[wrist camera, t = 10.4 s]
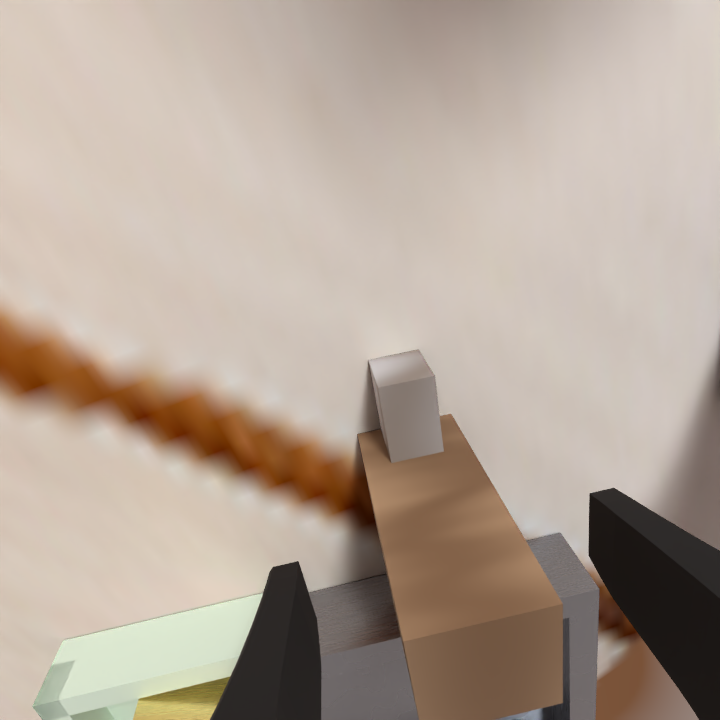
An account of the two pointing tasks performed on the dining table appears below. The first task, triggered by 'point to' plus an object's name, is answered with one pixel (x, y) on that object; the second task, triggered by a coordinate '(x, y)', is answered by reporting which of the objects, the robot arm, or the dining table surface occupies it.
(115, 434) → the dining table surface
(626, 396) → the dining table surface
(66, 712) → the tray
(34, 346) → the dining table surface
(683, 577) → the robot arm
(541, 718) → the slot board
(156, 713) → the brushed gold cube
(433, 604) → the brown block with peg
